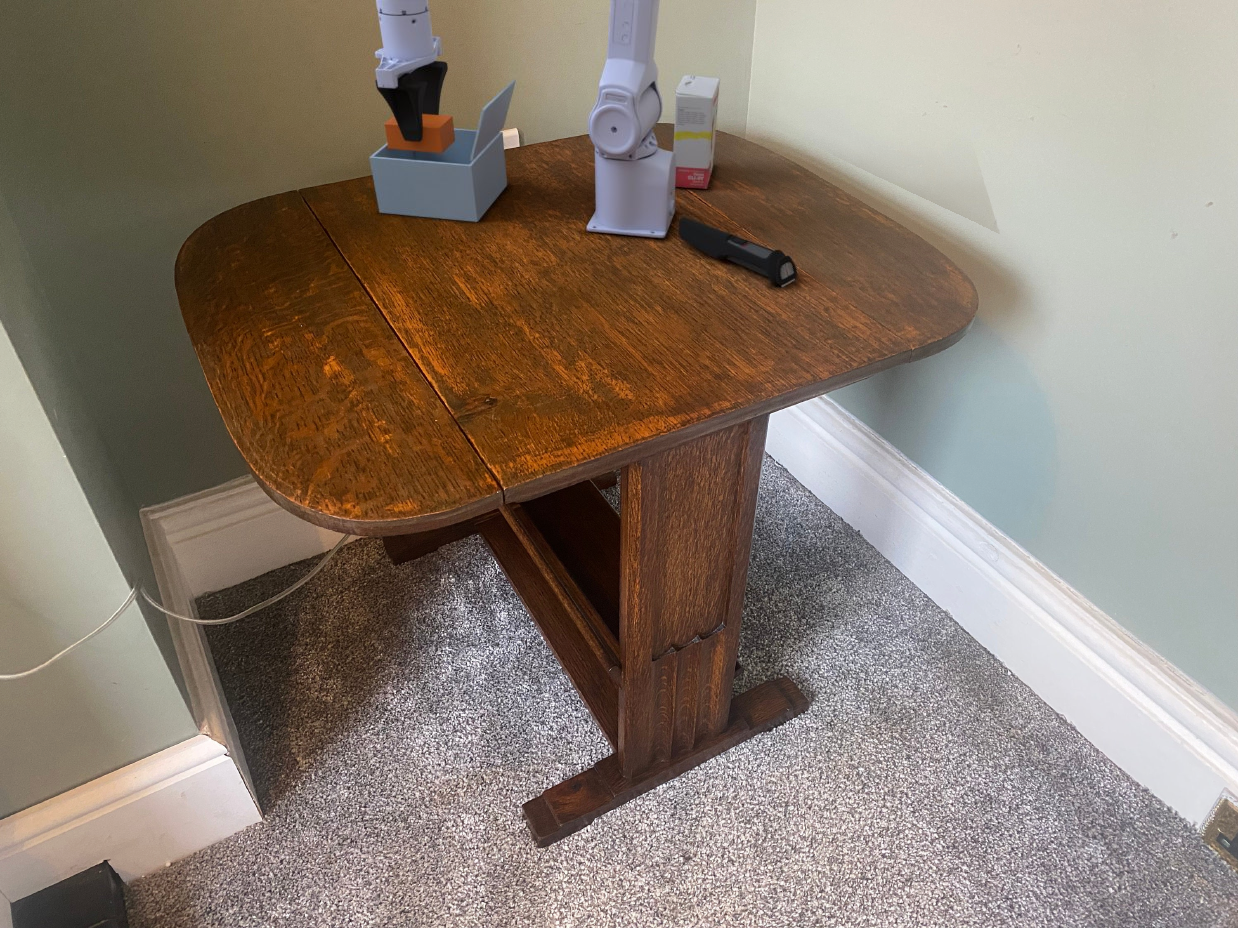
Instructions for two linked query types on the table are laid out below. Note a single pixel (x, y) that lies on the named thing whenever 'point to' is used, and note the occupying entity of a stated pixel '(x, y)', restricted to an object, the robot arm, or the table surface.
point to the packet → (434, 134)
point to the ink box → (695, 130)
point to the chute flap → (492, 119)
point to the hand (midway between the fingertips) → (421, 133)
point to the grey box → (440, 179)
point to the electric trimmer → (739, 251)
